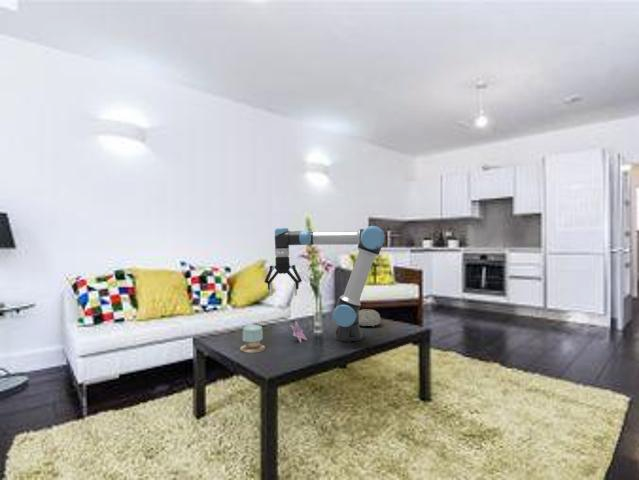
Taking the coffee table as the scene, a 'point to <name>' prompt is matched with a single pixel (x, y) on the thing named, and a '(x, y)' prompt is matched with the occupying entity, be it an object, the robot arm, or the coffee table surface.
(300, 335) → the lily
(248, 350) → the stud pedestal
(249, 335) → the cap
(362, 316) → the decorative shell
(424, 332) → the coffee table surface
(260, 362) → the coffee table surface
